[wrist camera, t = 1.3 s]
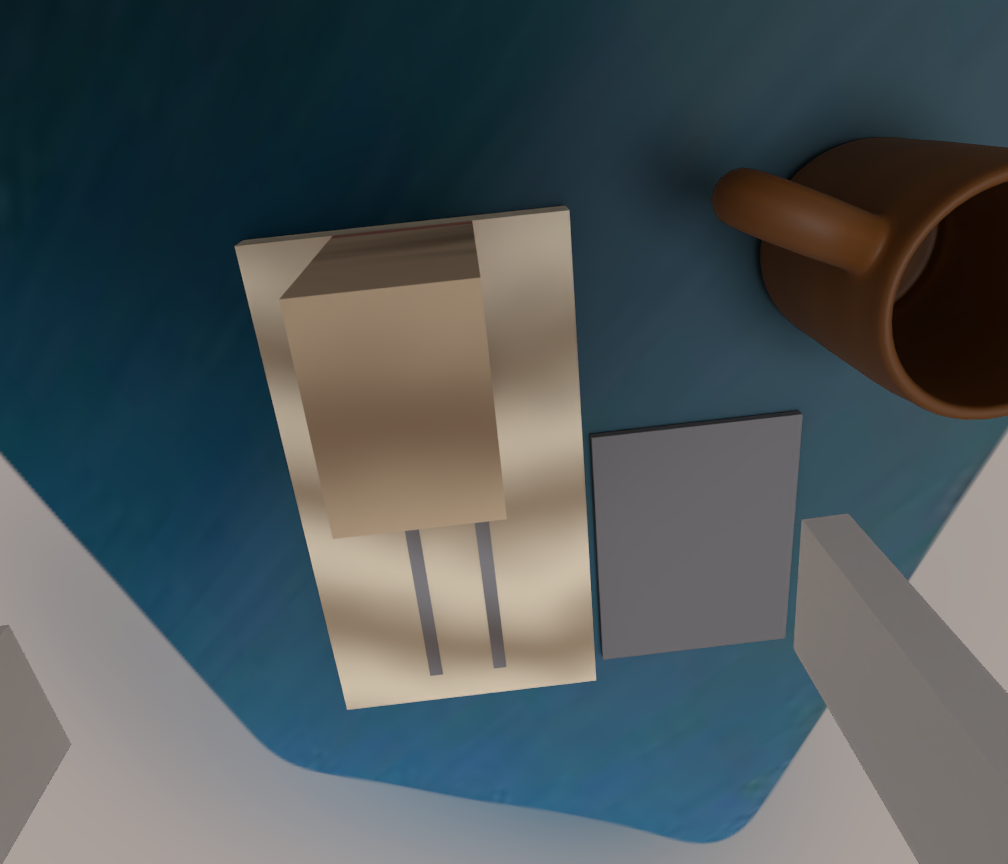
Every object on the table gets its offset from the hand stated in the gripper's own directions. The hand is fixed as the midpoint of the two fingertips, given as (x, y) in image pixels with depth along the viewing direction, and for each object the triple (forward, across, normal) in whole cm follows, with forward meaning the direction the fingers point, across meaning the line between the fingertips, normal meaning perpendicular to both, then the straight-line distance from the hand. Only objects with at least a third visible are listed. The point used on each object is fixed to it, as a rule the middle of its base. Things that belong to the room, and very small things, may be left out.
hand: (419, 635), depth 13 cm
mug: (+19, +14, +2) cm, 24 cm away
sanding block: (+17, -1, 0) cm, 17 cm away
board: (+18, -1, -7) cm, 20 cm away
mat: (+18, +10, -12) cm, 24 cm away
